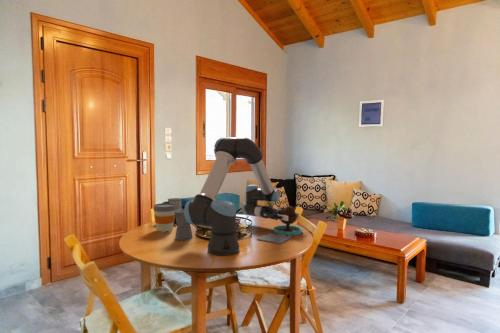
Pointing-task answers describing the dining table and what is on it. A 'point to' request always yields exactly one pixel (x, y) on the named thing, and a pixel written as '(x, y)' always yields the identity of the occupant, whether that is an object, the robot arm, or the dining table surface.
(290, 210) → the ice cream bowl
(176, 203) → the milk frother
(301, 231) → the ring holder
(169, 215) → the reusable coffee cup
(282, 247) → the dining table surface
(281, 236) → the mat
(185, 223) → the coffeepot
